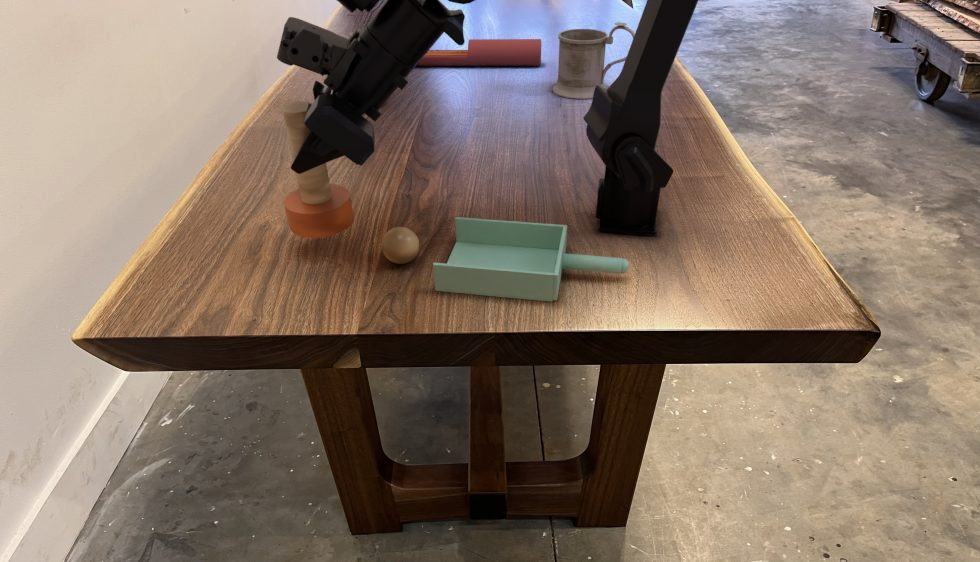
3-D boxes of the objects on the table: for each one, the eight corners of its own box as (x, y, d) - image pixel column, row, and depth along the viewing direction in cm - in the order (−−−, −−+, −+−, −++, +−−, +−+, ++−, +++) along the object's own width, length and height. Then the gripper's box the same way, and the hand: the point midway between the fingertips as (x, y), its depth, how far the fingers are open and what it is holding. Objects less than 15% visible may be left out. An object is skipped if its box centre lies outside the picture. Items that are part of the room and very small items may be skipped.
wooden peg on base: (339, 201, 74) (319, 90, 66) (364, 225, 69) (345, 109, 62) (280, 218, 71) (252, 104, 63) (302, 245, 66) (274, 125, 59)
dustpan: (435, 290, 65) (432, 264, 63) (457, 241, 72) (455, 216, 71) (626, 308, 61) (630, 281, 59) (628, 255, 69) (631, 229, 67)
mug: (544, 94, 114) (545, 24, 107) (564, 79, 121) (567, 12, 114) (621, 105, 108) (629, 32, 101) (639, 88, 115) (646, 19, 108)
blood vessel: (541, 61, 131) (541, 36, 128) (540, 68, 126) (541, 42, 124) (342, 62, 134) (338, 37, 131) (335, 69, 130) (331, 43, 127)
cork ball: (425, 252, 71) (422, 221, 68) (414, 272, 67) (411, 240, 65) (390, 249, 71) (386, 218, 69) (379, 269, 68) (374, 237, 66)
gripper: (326, -31, 64) (242, 85, 70) (309, 7, 49) (203, 152, 54) (412, 44, 70) (327, 147, 75) (420, 99, 54) (313, 223, 60)
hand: (296, 163), depth 66 cm, fingers closed on wooden peg on base, 3 cm apart
